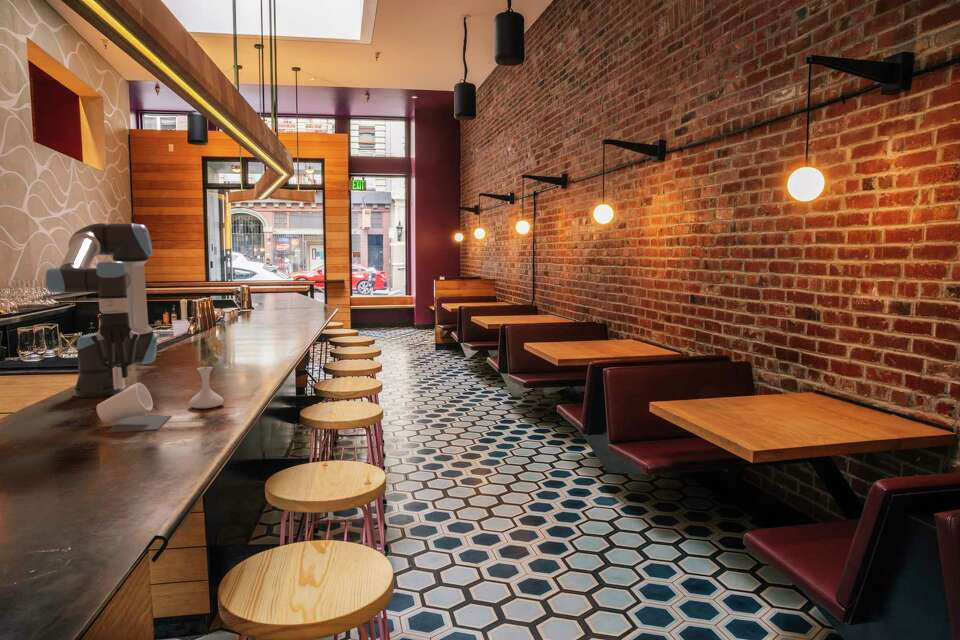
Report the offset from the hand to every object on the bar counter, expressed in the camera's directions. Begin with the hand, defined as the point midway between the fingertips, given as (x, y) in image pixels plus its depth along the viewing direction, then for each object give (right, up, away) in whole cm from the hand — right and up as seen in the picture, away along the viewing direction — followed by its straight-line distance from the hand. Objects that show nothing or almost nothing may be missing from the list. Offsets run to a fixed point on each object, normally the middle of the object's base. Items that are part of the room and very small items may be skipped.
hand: (119, 388), depth 188 cm
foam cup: (-5, -8, 0) cm, 10 cm away
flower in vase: (+16, -10, +26) cm, 32 cm away
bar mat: (+5, -12, +3) cm, 13 cm away
